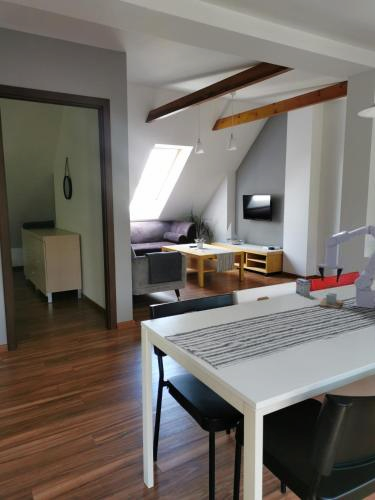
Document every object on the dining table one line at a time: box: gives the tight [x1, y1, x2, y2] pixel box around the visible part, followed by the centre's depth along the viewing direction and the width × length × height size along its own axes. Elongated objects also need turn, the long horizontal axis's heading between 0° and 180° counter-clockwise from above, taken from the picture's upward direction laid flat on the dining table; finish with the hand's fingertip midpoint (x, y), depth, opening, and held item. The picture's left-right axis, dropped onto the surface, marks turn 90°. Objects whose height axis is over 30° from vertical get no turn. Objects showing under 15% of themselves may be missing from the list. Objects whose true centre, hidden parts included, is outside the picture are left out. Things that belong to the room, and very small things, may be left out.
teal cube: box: [325, 292, 338, 304], centre depth 201 cm, size 4×4×4 cm
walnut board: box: [318, 298, 344, 310], centre depth 201 cm, size 10×14×1 cm
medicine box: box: [295, 278, 311, 297], centre depth 222 cm, size 8×4×9 cm, turn 17°
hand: (329, 281), depth 210 cm, fingers open, 7 cm apart
